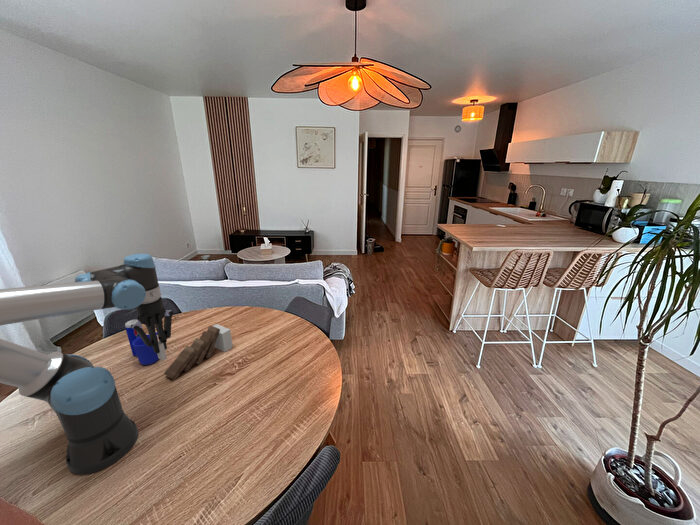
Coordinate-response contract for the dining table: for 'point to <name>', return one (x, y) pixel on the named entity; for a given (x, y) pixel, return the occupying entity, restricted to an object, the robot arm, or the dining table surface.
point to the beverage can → (131, 334)
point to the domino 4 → (215, 332)
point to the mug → (144, 351)
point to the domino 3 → (208, 339)
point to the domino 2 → (199, 347)
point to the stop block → (223, 339)
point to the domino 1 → (180, 362)
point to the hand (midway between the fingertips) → (162, 358)
